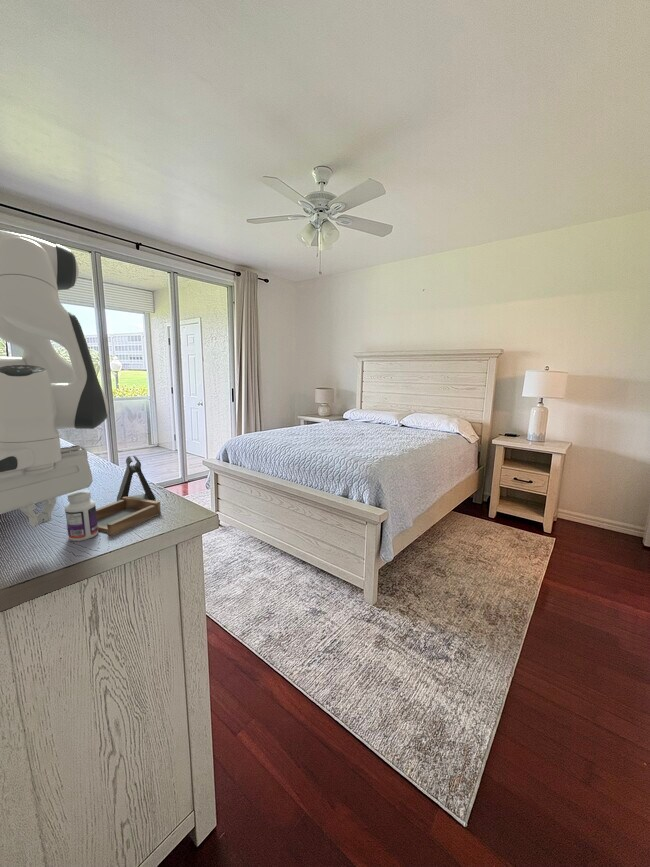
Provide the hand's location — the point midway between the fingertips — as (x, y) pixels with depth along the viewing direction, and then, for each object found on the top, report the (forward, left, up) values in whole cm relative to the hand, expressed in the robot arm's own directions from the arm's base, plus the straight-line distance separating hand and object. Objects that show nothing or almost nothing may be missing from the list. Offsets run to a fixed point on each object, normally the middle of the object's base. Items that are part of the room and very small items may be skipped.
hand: (41, 523), depth 69 cm
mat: (0, +17, -6) cm, 18 cm away
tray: (0, +17, -6) cm, 18 cm away
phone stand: (-8, +29, -6) cm, 31 cm away
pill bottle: (0, +8, -6) cm, 10 cm away
